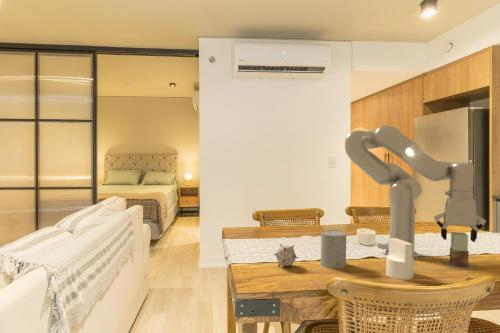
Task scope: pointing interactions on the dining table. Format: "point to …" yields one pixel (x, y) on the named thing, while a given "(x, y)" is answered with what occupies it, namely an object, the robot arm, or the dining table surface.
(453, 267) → the build pad
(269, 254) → the dining table surface
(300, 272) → the dining table surface
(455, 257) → the walnut block
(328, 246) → the grey cylinder
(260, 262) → the dining table surface
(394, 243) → the base with upright slab
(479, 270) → the dining table surface
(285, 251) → the grey spiked polyhedron
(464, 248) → the green block
